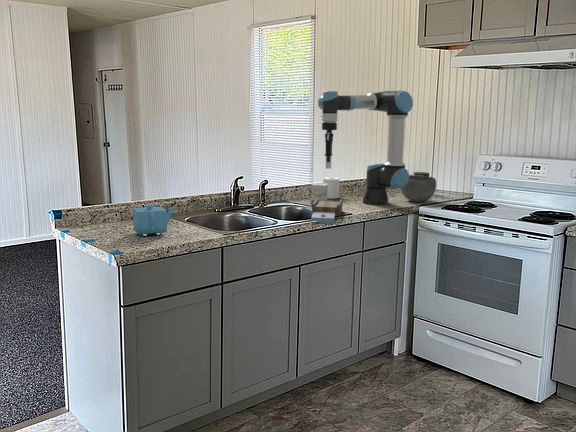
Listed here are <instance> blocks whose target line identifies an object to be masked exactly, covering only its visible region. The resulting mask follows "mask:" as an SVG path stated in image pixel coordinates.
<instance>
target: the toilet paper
mask: <svg viewBox="0 0 576 432" xmlns="http://www.w3.org/2000/svg"><path fill="white" fill-rule="evenodd" d="M322 180H323V181H322V183H324V184H328V189H327V199H331V200H332V199H339V198H340V180H341V179H340V177H339V178H338V177H331V176H330V177H323V178H322Z"/></svg>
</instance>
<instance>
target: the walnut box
mask: <svg viewBox="0 0 576 432" xmlns="http://www.w3.org/2000/svg"><path fill="white" fill-rule="evenodd" d="M311 210H312V211H311V215H312V214H313V212H335V216H339V215H340V216H341V214H342V212H343V199H339V201H331V200H330V201H328V200H327V201H319V199H316V200H315V202H314V203H313V204H312V205H311ZM340 213H341V214H340Z"/></svg>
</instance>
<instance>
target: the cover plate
mask: <svg viewBox="0 0 576 432" xmlns="http://www.w3.org/2000/svg"><path fill="white" fill-rule="evenodd" d="M335 218H336V217H335V212H313V214H312V213H311V219H310V220H311V221H318V222H320V223H319V224H335V220H334V219H335ZM311 221H310V222H311Z"/></svg>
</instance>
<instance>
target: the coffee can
mask: <svg viewBox="0 0 576 432" xmlns="http://www.w3.org/2000/svg"><path fill="white" fill-rule="evenodd" d="M412 175H417V176H425V177H430V172H424V171H415V172H413V174H412Z"/></svg>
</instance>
